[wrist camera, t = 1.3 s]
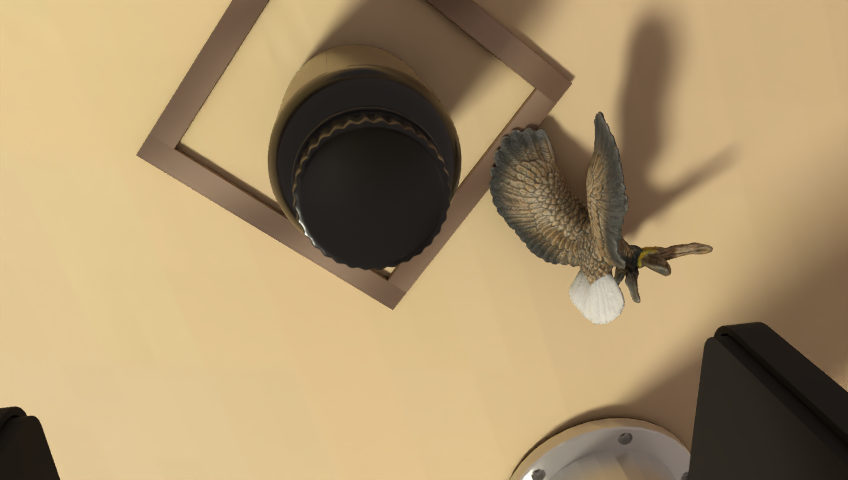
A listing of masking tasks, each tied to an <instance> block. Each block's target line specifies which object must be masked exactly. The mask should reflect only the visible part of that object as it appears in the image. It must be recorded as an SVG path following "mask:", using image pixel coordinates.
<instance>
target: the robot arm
mask: <svg viewBox="0 0 848 480" xmlns="http://www.w3.org/2000/svg"><path fill="white" fill-rule="evenodd" d="M0 480H60V478H59V475H58V472H57V469H56V466H55V463H54V460H53V457H52V455H51V452H50V449H49V446H48V443H47V440H46V437H45V434H44V431H43V428H42V425H41V423H40V421H39V420H38V419H37V418H36V417H35V416H27V415H26V413H25V412H24V411H23V410H22V409H21V408H19V407H16V406H15V407H6V408H0ZM510 480H848V392H847V391H846V390H845V389H843V388H842V387H841V386H840V385H839V384H837V383H836V382H835V381H834V380H833V379H831V378H830V377H829V376H828V375H826V374H825V373H824V372H823V371H822V370H820V369H819V368H818V367H817V366H816V365H814V364H813V363H812V362H811V361H810V360H808V359H807V358H806V357H805V356H803V355H802V354H801V353H800V352H799V351H797V350H796V349H795V348H794V347H793V346H791V345H790V344H789V343H788V342H787V341H785V340H784V339H783V338H782V337H780V336H779V335H778V334H777V333H776V332H774V331H773V330H772V329H771V328H770V327H768V326H767V325H765V324H764V323H762V322H753V323H745V324H736V325H727V326H721V327H720V328H718V329H717V331H716V332H715V335H714V337H710V338H709V339H707V341H706V342H705V346H704V352H703V360H702V368H701V376H700V384H699V392H698V400H697V408H696V416H695V423H694V431H693V439H692V447H691V454H690V453H689V451H688V450H687V448H686V447H685V446H684V445H683V444H682V443H681V442H680V441H679V439H678V438H677V437H676V436H675V435H673V434H672V433H670V432H669V431H667V430H665V429H664V428H662V427H660V426H658V425H655V424H652V423H649V422H647V421H642V420H636V419H630V418H607V419H602V420H596V421H590V422H586V423H583V424H580V425H577V426H574V427H572V428H569V429H567V430H565V431H563V432H561V433H559V434H557V435H555V436H553V437H551V438H550V439H548V440H547V441H546V442H544V443H543V444H541V445H540V446H539V447H537V448H536V449H535V450H534V451H533V452H532V453H531V454H530V455H529V456H528V457H527V458H526V459H525V460H524V461H523V462H522V463H521V464H520V465H519V467H518V468H517V470H516V471H515V472H514V474H513V475H512V477H511V479H510Z"/></svg>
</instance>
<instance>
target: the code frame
mask: <svg viewBox="0 0 848 480" xmlns="http://www.w3.org/2000/svg"><path fill="white" fill-rule="evenodd" d="M268 1H269V0H232V2H231V3H230V5H229V7H228V8H227V10H226V11H225V13H224V15H223V16H222V18H221V19H220V21H219V23H218V24H217V26H216V27H215V29H214V31H213V32H212V34H211V36H210V37H209V39H208V40H207V42H206V44H205V45H204V47H203V48H202V50H201V52H200V53H199V55H198V56H197V58H196V60H195V61H194V63H193V65H192V66H191V68H190V69H189V71H188V73H187V74H186V76H185V77H184V79H183V81H182V82H181V84H180V85H179V87H178V89H177V90H176V92H175V94H174V95H173V97H172V98H171V100H170V102H169V103H168V105H167V106H166V108H165V110H164V111H163V113H162V114H161V116H160V118H159V119H158V121H157V123H156V124H155V126H154V127H153V129H152V131H151V132H150V134H149V135H148V137H147V139H146V140H145V142H144V144H143V145H142V147H141V148H140V150H139V152H138V153H137V156H138V157H140V158H142V159H143V160H145V161H147V162H148V163H150V164H152V165H153V166H155V167H157V168H158V169H160V170H162V171H163V172H165V173H167V174H168V175H170V176H172V177H173V178H175V179H177V180H178V181H180V182H181V183H183V184H185V185H186V186H188V187H190V188H191V189H193V190H195V191H196V192H198V193H200V194H201V195H203V196H205V197H206V198H208V199H210V200H211V201H213V202H215V203H216V204H218V205H220V206H221V207H223V208H225V209H226V210H228V211H230V212H231V213H233V214H235V215H236V216H238V217H240V218H241V219H243V220H245V221H246V222H248V223H249V224H251V225H253V226H254V227H256V228H258V229H259V230H261V231H263V232H264V233H266V234H268V235H269V236H271V237H273V238H274V239H276V240H278V241H279V242H281V243H283V244H284V245H286V246H288V247H289V248H291V249H293V250H294V251H296V252H298V253H299V254H301V255H303V256H304V257H306V258H308V259H309V260H311V261H312V262H314V263H316V264H317V265H319V266H321V267H322V268H324V269H326V270H327V271H329V272H331V273H332V274H334V275H336V276H337V277H339V278H341V279H342V280H344V281H346V282H347V283H349V284H351V285H352V286H354V287H356V288H357V289H359V290H361V291H362V292H364V293H366V294H367V295H369V296H371V297H372V298H374V299H376V300H377V301H379V302H380V303H382V304H384V305H385V306H387V307H389V308H390V309H392V310H393V309H394V308H395V307H396V305H397V304H398V303H399V301H400V300H401V299H402V298H403V296H404V295H405V294H406V293H407V291H408V290H409V289H410V288H411V286H412V285H413V284H414V283H415V281H416V280H417V279H418V277H419V276H420V275H421V274H422V272H423V271H424V270H425V269H426V267H427V266H428V265H429V264H430V262H431V261H432V260H433V259H434V257H435V256H436V255H437V254H438V252H439V251H440V250H441V248H442V247H443V246H444V245H445V243H446V242H447V241H448V240H449V238H450V237H451V236H452V235H453V233H454V232H455V231H456V230H457V228H458V227H459V226H460V224H461V223H462V222H463V221H464V219H465V218H466V217H467V216H468V214H469V213H470V212H471V211H472V209H473V208H474V207H475V206H476V204H477V203H478V202H479V200H480V199H481V198H482V197H483V195H484V194H485V193H486V192H487V190H488V189H489V188H490V187H489V181H490V179H492V176H491V173H490V170H491V168H492V167H496V166H497V165H496V163H495V160H494V153H495V151H496V150H500V148H501V139H502V138H503V137H504V136H509V135H510V132H511V131H512V130H519V131H520V132H523V131H524V130H525V129H526V128H531V129H533V130H534V131H535V130H536V129H537V127H538V126H539V125H540V123H541V122H542V121H543V120H544V118H545V117H546V116H547V115H548V113H549V112H550V111H551V110H552V108H553V107H554V106H555V105H556V103H557V102H558V101H559V99H560V98H561V97H562V96H563V94H564V93H565V92H566V91H567V89H568V88H569V87H570V86H571V84H572V83H571V82H570V81H569V80H567V79H566V78H565V77H564V76H563V75H561V74H560V73H559V72H558V71H556V70H555V69H554V68H553V67H552V66H550V65H549V64H548V63H547V62H546V61H544V60H543V59H542V58H541V57H540V56H538V55H537V54H536V53H535V52H534V51H532V50H531V49H530V48H529V47H527V46H526V45H525V44H524V43H523V42H521V41H520V40H519V39H518V38H517V37H515V36H514V35H513V34H512V33H511V32H509V31H508V30H507V29H506V28H505V27H503V26H502V25H501V24H500V23H498V22H497V21H496V20H495V19H494V18H492V17H491V16H490V15H489V14H488V13H486V12H485V11H484V10H483V9H482V8H480V7H479V6H478V5H477V4H476V3H474V2H473V1H472V0H426V1H428V2H429V3H430V4H431V5H433V6H434V7H435V8H436V9H437V10H439V11H440V12H441V13H442V14H444V15H445V16H446V17H447V18H449V19H450V20H451V21H452V22H454V23H455V24H456V25H457V26H459V27H460V28H461V29H462V30H464V31H465V32H466V33H467V34H469V35H470V36H471V37H472V38H474V39H475V40H476V41H477V42H479V43H480V44H481V45H482V46H483V47H485V48H486V49H487V50H488V51H490V52H491V53H492V54H493V55H495V56H496V57H497V58H498V59H500V60H501V61H502V62H503V63H505V64H506V65H507V66H508V67H510V68H511V69H512V70H513V71H515V72H516V73H517V74H518V75H520V76H521V77H522V78H523V79H525V80H526V81H527V82H528V83H529V84H531V85H532V86H533V87H534V88H535V89H534V91H533V92H532V93H531V94H530V96H529V97H528V98H527V100H526V101H525V102H524V103H523V105H522V106H521V107H520V109H519V110H518V111H517V112H516V114H515V115H514V116H513V118H512V119H511V120H510V121H509V123H508V124H507V125H506V127H505V128H504V129H503V130H502V132H501V133H500V134H499V136H498V137H497V138H496V139H495V141H494V142H493V143H492V145H491V146H490V147H489V148H488V150H487V151H486V152H485V154H484V155H483V156H482V157H481V159H480V160H479V161H478V163H477V164H476V165H475V166H474V168H473V169H472V170H471V172H470V173H469V174H468V175H467V177H466V178H465V179H464V181H463V182H462V183H461V184H460V186H459V187H458V188H457V190H456V193H455V196H454V198H453V200H452V202H451V204H450V207H449V209H448V210H447V219H446V221H445V222H444V223H443V224H442V226H441V232H440V233H439V234H438V235H437V236H435V237H434V239H433V242H432V244H431V245H429V246H427V247H426V248H424V250H423V252H422V253H421V254H420V255H417V256H414V257H413V258H412V259H411V260H410V261H409V262H403V263H400V264H399V265H397V267H396V268H395V269H394V271H393V272H392V273H391V274H390V276H389V277H388V278H385V277H384V276H382V275H380V274H379V273H377V272H376V271H374V270H372V269H370V270H363V269H361V268H350V267H348V266H347V265H345V264H338V263H336V262H335V261H334V260H333V259H332V258H329V257H326V256H324V255H323V254H322V252H321V250H319V249H317V248H315V247H314V246H313V245H312V243H311V240H310V239H309V238H308V237H306V236H305V235H304V234H303V233H302V232H300V231H299V230H298V229H297V228H296V227H295V226H294V225H293V224H292V223H291V222H290V220H289V219H288V218H287V217H286V216H285V215H284V214H282V213H280V212H279V211H277V210H276V209H274V208H272V207H271V206H269V205H268V204H266V203H264V202H263V201H261V200H259V199H258V198H256V197H255V196H253V195H251V194H250V193H248V192H247V191H245V190H243V189H242V188H240V187H238V186H237V185H235V184H234V183H232V182H230V181H229V180H227V179H226V178H224V177H222V176H221V175H219V174H218V173H216V172H214V171H213V170H211V169H209V168H208V167H206V166H205V165H203V164H201V163H200V162H198V161H197V160H195V159H193V158H192V157H190V156H188V155H187V154H185V153H184V152H182V151H180V150H179V149H177V148H176V146H177V144H178V142H179V141H180V139H181V138H182V136H183V135H184V133H185V131H186V130H187V128H188V127H189V125H190V124H191V122H192V120H193V119H194V117H195V116H196V114H197V113H198V111H199V109H200V108H201V106H202V105H203V103H204V102H205V100H206V98H207V97H208V95H209V94H210V92H211V91H212V89H213V87H214V86H215V84H216V83H217V81H218V80H219V78H220V76H221V75H222V73H223V72H224V70H225V69H226V67H227V65H228V64H229V62H230V61H231V59H232V58H233V56H234V54H235V53H236V51H237V50H238V48H239V47H240V45H241V43H242V42H243V40H244V39H245V37H246V36H247V34H248V32H249V31H250V29H251V28H252V26H253V25H254V23H255V21H256V20H257V18H258V17H259V15H260V14H261V12H262V10H263V9H264V7H265V6H266V4H267V3H268Z"/></svg>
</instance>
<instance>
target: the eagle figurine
mask: <svg viewBox="0 0 848 480" xmlns="http://www.w3.org/2000/svg"><path fill="white" fill-rule="evenodd" d="M594 124H595V142H594V152H593V155H592V160H591V162H590V165H589V168H588V173H587V178H586V189H587V204H586V203H584V202H582V201H580V200H579V199H578V198H577V197H576V196H575V195H574V194H573V192H572V191H571V189H570V188H569V186H568V184H567V183H566V181H565V179H564V177H563V176H562V174H561V172H560V170H559V169H558V166H557V163H556V159H555V156H554V152H553V149H552V147H551V143H550V140H549V137H548V136H547V133H546V131H545V130H544V129H539V130H538V131H534V130H533V129H531V128H526V129H525V130H524V131H523V132H520V131H519V130H512V131H511V132H510V135H509V136H504V137H503V138H502V139H501V148H500V150H496V151H495V153H494V160H495V163H496V165H497V166H496V167H492V168H491V170H490V173H491V176H492V179H490V181H489V187H490V193H491V195H492V196H493V203H494V205H495V206H496V207H497V212H498V213H499V214H500V215H501V216H502V217H504V219H505V221H506V222H507V224H508V225H509V227H510V228H512V229H514V230H515V233H516V234H517V235H518V236H519V237H520V239H521V240H522V241H523V242H525V243H526V246H527V248H528V249H530V251H531V252H532V253H534V254H535V255H536V256H537V257H539V258H542V259H544V261H546V262H551V263H552V264H558V263H560V264H562V265H567V264H570V265H571V266H572V267H575V266H580V268H581V269H580V271H579V273H578V275H577V276H576V278H575V280H574V282H573V283H572V285H571V287H570V289H569V296H570V298H571V301H572V302H573V304H574V305H575V306H576V307H577V308H578V309H579V310H580V312H581V314H582V315H583V316H584V317H585V318H586V319H589V320H590V321H591V322H593V323H594V324H607V323H609V322H610V321H612V320H614V319H615V318H616V317H617V316H619V315H620V314H621V312H622V309H623V308H624V303H625V301H624V297H623V294H622V292H621V289H620V288H619V286H618V285H619V284H620V282H621V281H622V280H623V278H624V276H625V275H626V279H625V283H626V285H627V286H628V288H629V291H630V294H631V297H632V299H633V301H634V302H636V303H640V296H639V293H638V285H637V278H638V275H639V272H638V268H642V267H644V266H646V267H648V268H649V269H651V270H653V271H655V272H657V273H660V274H662V275H664V276H668V275H670V274H671V268H670V265H669V264H668V262H667V260H670V259H673V258H677V257H680V256H684V255H689V254H706V253H709V252H712V250H713V248H712V247H711V246H709V245H705V244H700V243H690V244H681V245H674V246H670V247H668V248H663V247H656V246H655V247H644V248H642V249H641V248H640V247H638V246H635V245H629V244H628V243H627V242H626V241H625V240H624V238H623V237H622V235H621V226H622V225H623V224H624V220H623V217H624V215H626V213H627V211H628V205H627V202H628V197H627V195H626V194H625V190H626V187H625V185H624V176H623V172H622V165H621V161H620V154H619V149H618V148H617V145H616V142H615V139H614V136H613V135H612V134H611V132H610V129H609V126H608V124H607V123H606V122H605V119H604V115H603V113H602V112H600V111H599V112H598V114H596V116H595V119H594ZM613 266H615V267H616V270H615V277H614V278H613V275H612V268H613Z"/></svg>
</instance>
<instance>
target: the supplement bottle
mask: <svg viewBox="0 0 848 480" xmlns="http://www.w3.org/2000/svg"><path fill="white" fill-rule="evenodd" d="M268 171H269V178H270V183H271V187H272V190H273V193H274V195H275V198H276V200H277V202H278V204H279V206H280V207H281V209H282V211H283V212H284V214H285V215H286V217H287V218H288V219H289V220H290V222H291V223H292V224H293V225H294V226H295V227H296V228H297V229H298V230H299V231H300V232H302V233H303V234H304V235H305V236H306V237H308V238H309V239H310V240H311V243H312V245H313V246H314V247H315V248H317V249H319V250H321V252H322V254H323V255H324V256H326V257H329V258H332V259H333V260H334V261H335V262H336V263H338V264H345V265H347V266H348V267H350V268H361V269H363V270H370V269H377V270H382V269H384V268H386V267H396V266H397V265H399V264H400V263H403V262H409V261H410V260H411V259H412V258H413V257H414V256H417V255H420V254H421V253H422V252H423V250H424V248H426V247H427V246H429V245H431V244H432V242H433V239H434V237H435V236H437V235H438V234H439V233H440V232H441V226H442V224H443V223H444V222H445V221H446V219H447V210H448V209H449V207H450V204H451V202H452V200H453V198H454V196H455V193H456V190H457V187H458V183H459V179H460V173H461V148H460V143H459V138H458V135H457V131H456V129H455V126H454V124H453V121H452V119H451V117H450V116H449V114H448V112H447V110H446V109H445V107H444V106H443V104H442V103H441V102H440V100H439V99H438V98H437V97H436V96H435V94H434V93H433V92H432V91H431V90H430V89H429V88H428V87H427V85H426V84H425V83H424V82H423V81H422V80H421V79H420V78H419V77H418V75H417V74H416V73H415V72H414V71H413V70H412V69H411V68H410V67H409V66H408V65H407V64H406V63H404V62H403V61H402V60H401V59H399V58H398V57H396V56H395V55H393V54H391V53H389V52H387V51H385V50H382V49H380V48H376V47H373V46H367V45H357V44H355V45H343V46H338V47H334V48H331V49H328V50H326V51H324V52H322V53H320V54H318V55H316V56H315V57H313V58H312V59H311V60H309V61H308V62H307V63H306V64H305V65H304V66H302V68H301V69H300V70H299V71H298V72H297V73H296V75H295V76H294V78H293V79H292V81H291V83H290V84H289V86H288V88H287V91H286V93H285V95H284V98H283V101H282V104H281V107H280V110H279V113H278V116H277V118H276V121H275V124H274V127H273V130H272V134H271V138H270V143H269V150H268Z"/></svg>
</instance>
